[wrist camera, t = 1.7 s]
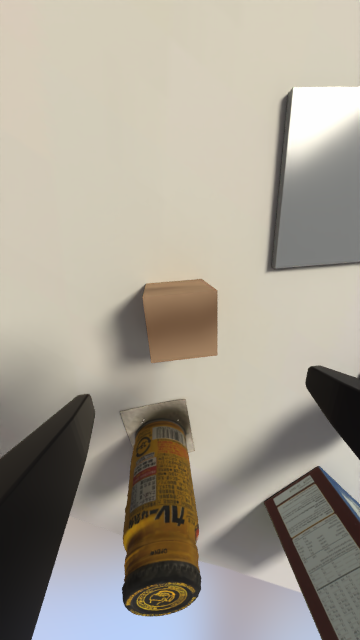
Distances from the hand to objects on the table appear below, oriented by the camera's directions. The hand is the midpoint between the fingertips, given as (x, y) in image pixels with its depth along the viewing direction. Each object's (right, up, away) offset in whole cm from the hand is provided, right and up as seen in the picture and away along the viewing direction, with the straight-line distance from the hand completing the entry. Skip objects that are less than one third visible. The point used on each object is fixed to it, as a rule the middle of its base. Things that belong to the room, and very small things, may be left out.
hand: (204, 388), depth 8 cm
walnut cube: (-1, +4, +11) cm, 11 cm away
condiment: (-3, -10, +16) cm, 19 cm away
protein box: (+21, -27, +25) cm, 42 cm away
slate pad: (+13, +14, +9) cm, 21 cm away
